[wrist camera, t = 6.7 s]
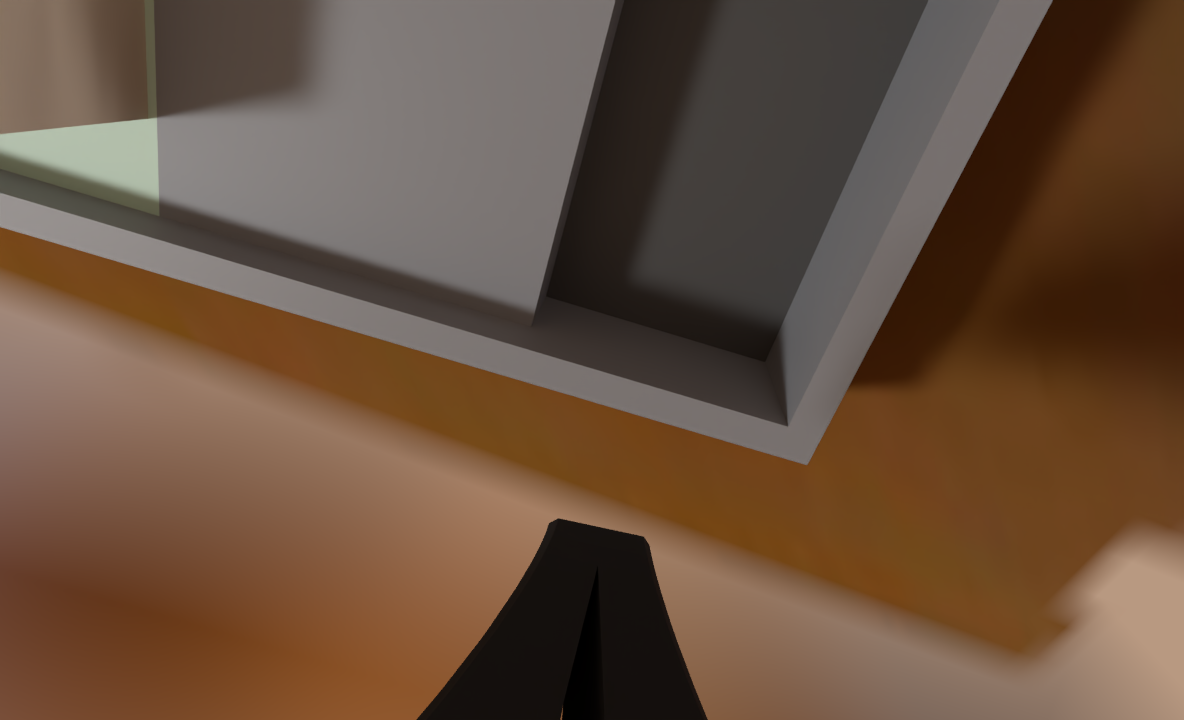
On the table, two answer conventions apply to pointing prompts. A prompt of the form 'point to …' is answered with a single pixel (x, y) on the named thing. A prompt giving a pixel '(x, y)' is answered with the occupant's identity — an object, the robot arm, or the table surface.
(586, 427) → the table surface
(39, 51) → the cream block
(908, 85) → the gray tray
